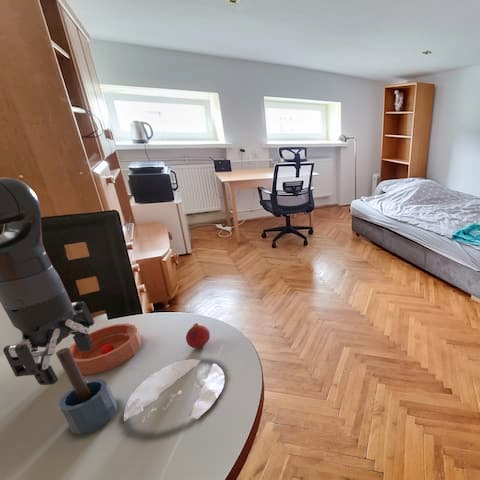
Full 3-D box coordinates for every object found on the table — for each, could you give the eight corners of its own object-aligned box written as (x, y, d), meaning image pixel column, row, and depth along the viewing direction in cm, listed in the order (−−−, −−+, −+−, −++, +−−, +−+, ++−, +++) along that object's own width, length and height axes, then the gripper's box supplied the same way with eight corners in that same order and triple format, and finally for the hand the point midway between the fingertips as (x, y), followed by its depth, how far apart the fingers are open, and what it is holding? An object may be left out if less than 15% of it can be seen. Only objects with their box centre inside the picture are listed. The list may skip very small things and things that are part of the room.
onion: (205, 354, 79) (199, 331, 76) (185, 354, 79) (177, 331, 76) (215, 340, 84) (210, 317, 81) (196, 340, 84) (190, 317, 81)
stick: (87, 421, 60) (53, 354, 54) (93, 413, 62) (61, 348, 56) (96, 420, 61) (63, 353, 54) (102, 412, 62) (71, 347, 56)
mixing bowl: (58, 379, 71) (49, 364, 70) (100, 339, 85) (94, 325, 83) (121, 373, 73) (114, 358, 71) (152, 335, 87) (147, 321, 85)
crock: (62, 438, 58) (47, 412, 55) (90, 405, 65) (78, 380, 62) (102, 433, 59) (89, 407, 56) (125, 401, 66) (115, 376, 63)
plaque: (141, 373, 72) (140, 369, 72) (227, 354, 79) (226, 350, 78) (108, 453, 55) (105, 448, 54) (221, 419, 61) (220, 415, 61)
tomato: (99, 357, 77) (96, 349, 76) (107, 350, 80) (103, 342, 79) (111, 356, 78) (107, 348, 77) (117, 349, 80) (114, 341, 79)
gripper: (46, 276, 56) (77, 342, 62) (-38, 321, 43) (11, 399, 49) (88, 274, 57) (114, 338, 63) (18, 317, 44) (60, 394, 50)
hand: (69, 365), depth 56 cm, fingers open, 8 cm apart
